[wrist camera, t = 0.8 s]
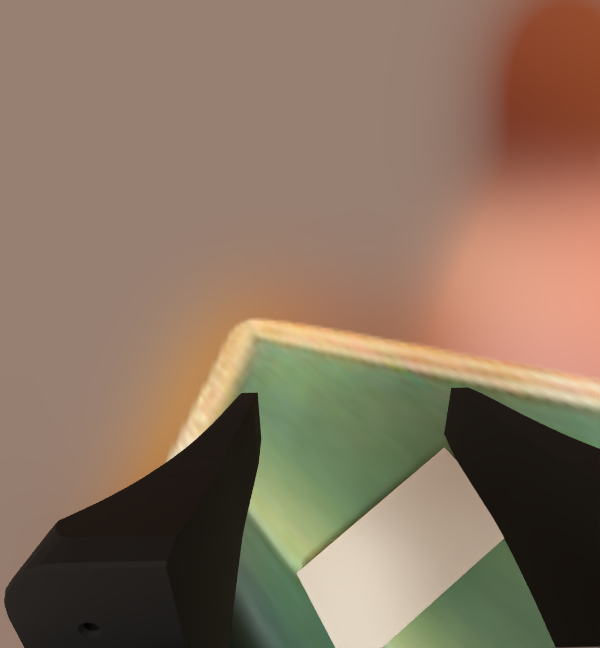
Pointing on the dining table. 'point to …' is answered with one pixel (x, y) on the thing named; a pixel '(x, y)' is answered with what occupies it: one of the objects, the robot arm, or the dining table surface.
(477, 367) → the dining table surface
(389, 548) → the beige rectangular block
